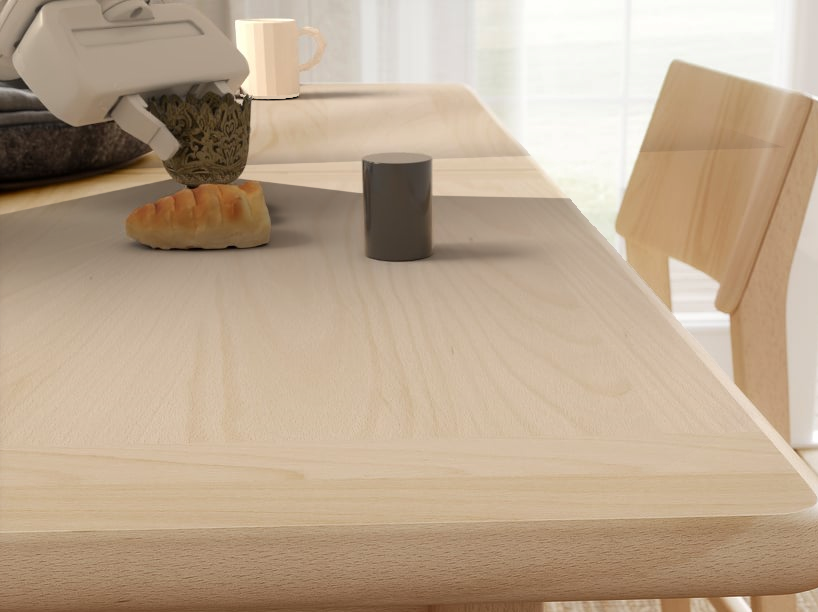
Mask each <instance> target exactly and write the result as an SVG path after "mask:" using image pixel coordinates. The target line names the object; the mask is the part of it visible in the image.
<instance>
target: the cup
mask: <svg viewBox="0 0 818 612" xmlns="http://www.w3.org/2000/svg"><path fill="white" fill-rule="evenodd" d="M234 95H235V94H234ZM234 95H232V94H231V93H227V94H226V95H225V97H224V98H222V97H221V96H220V95H218V94H216V93H213V92H211V91H208V92H207V93H206V94H205V95H204V96H203V97H202V98H201V99H199V100H197V99H195V97H196V96H195V95H192V94H191V93H188V94H187V96H186V100H185V102H183V101H182V99H181V98H180V97H179V96H177V95H175V94H172V95H171V96H170V97H169V99H168V98H167V97H166V95H163V96H162V99H161V102H160V103H159V104H158V103H157V102H156V100H155V98H154V96H153V98H152V102H151V100H150V98H148V101H149V105H150V110H151V114H152V115H153V116H155V117H156V118H157V119H158V120H160V121H161V122H162V123H163V124H165V125H166V126H171V125H173V126H174V128H175V129H176V130H177V131H178V132H179V133H180V135H181V136H183V137H184V138H185V140H186V142H187V147H186V149H185V150H184V151H183V152H182V153H181V155H180V156H179V157H177V158H173V159H169V160H165V161H163V160H161V162H162V165H163V167H164V169H165V171H166V173H167V174H168V175H169V177H171V178H172V180H174V181H175V182H176V183H179V184H181V185H183V186H184V188H183V189H195V188H197V187H199V186H200V185H201V184H215V185H216V184H222V185H230V184H231V183H233V182H235V181H237V179H238V178H240V176H241V175H242V174H243V172H244V171H245V168H246V165H247V163H248V159H249V158H248V157H249V151H250V150H249V149H250V139H251V137H250V135H251V133H250V127H251V116H252V101H253V100H252V96H251V97H250V98H249V95H248V94H247V95H246V96H245V97H244V98H242V103H240V102H238V101H237V100H236V101H234ZM194 96H195V97H194ZM196 100H197V101H198V102H197V101H196ZM160 106H161V107H160Z"/></svg>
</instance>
